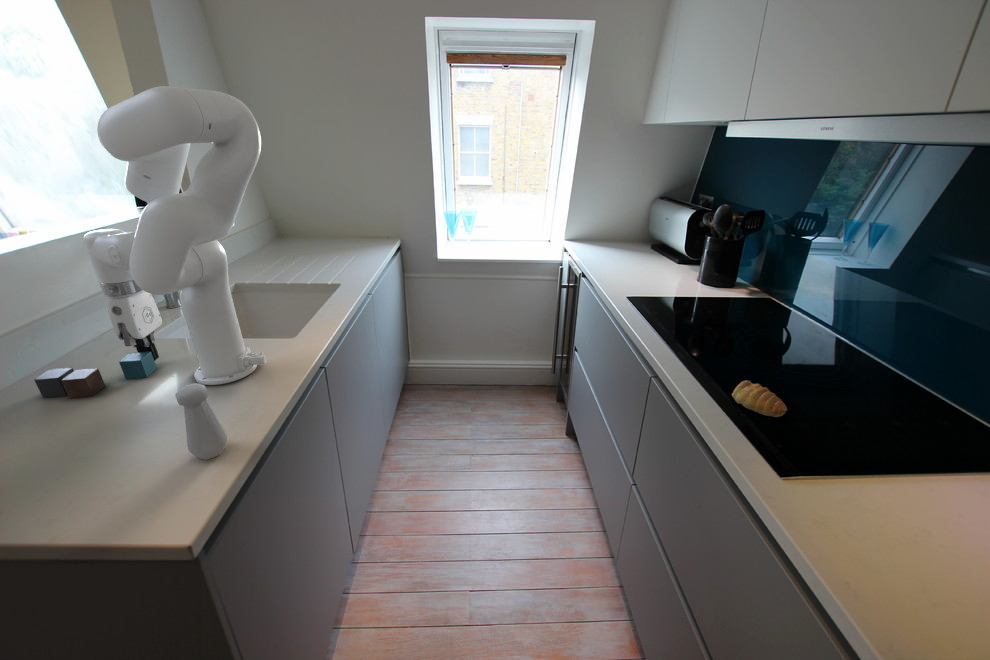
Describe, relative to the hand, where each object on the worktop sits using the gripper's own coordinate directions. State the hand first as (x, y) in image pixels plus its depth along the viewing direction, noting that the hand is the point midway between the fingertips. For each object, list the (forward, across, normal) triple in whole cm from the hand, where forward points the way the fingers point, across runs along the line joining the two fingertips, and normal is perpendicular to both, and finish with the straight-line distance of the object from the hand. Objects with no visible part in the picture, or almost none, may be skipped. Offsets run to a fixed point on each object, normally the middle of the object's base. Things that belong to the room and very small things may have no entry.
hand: (150, 359), depth 106 cm
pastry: (+1, -38, -131) cm, 136 cm away
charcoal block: (+1, -10, +13) cm, 16 cm away
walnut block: (+1, -11, +7) cm, 13 cm away
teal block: (+1, -4, 0) cm, 5 cm away
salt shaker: (+1, -37, -28) cm, 46 cm away
